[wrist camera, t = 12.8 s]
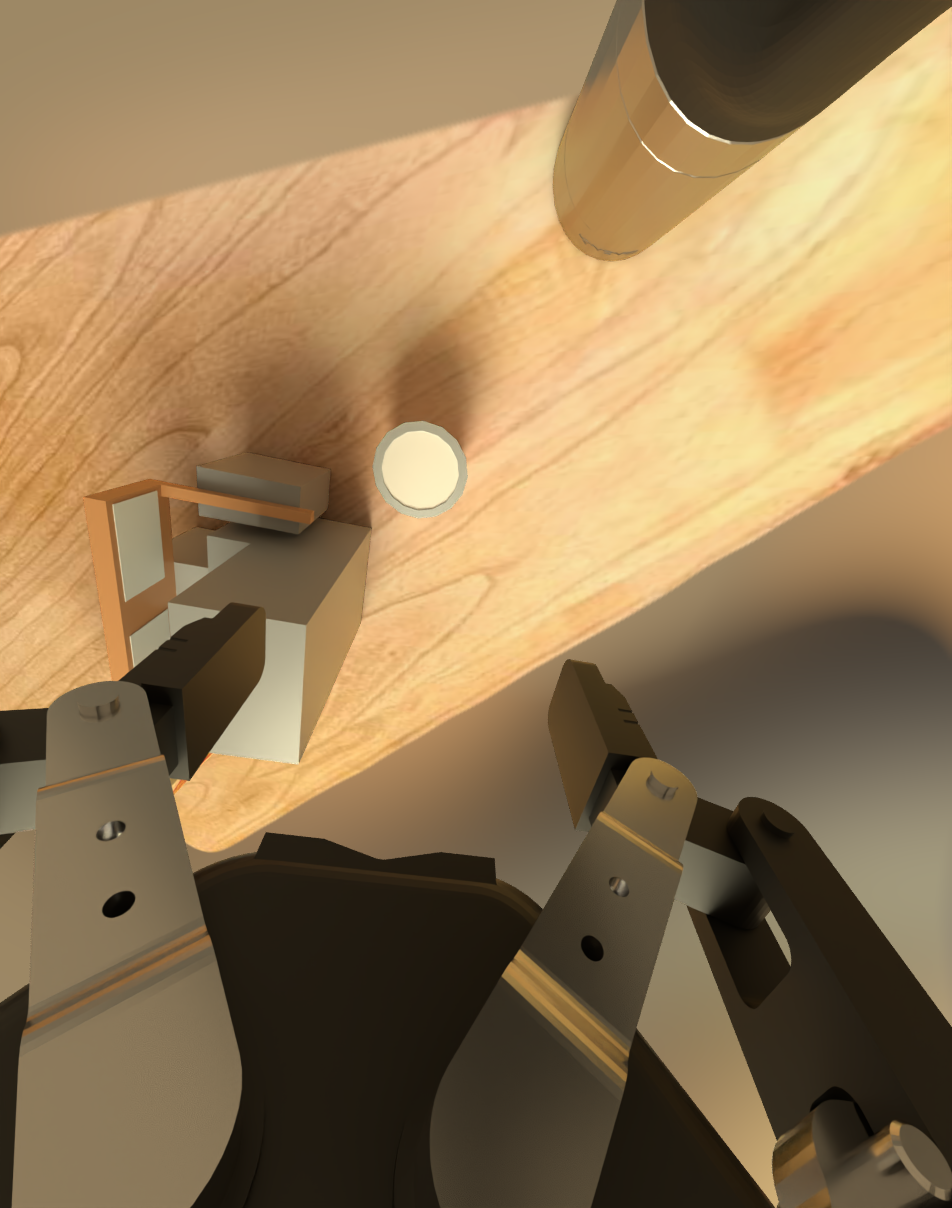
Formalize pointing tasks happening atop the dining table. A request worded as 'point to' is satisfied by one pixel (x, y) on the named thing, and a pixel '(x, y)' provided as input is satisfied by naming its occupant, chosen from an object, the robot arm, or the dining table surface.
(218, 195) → the dining table surface
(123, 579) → the glasses
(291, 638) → the grey pillar cluster
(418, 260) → the dining table surface
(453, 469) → the cream cup
